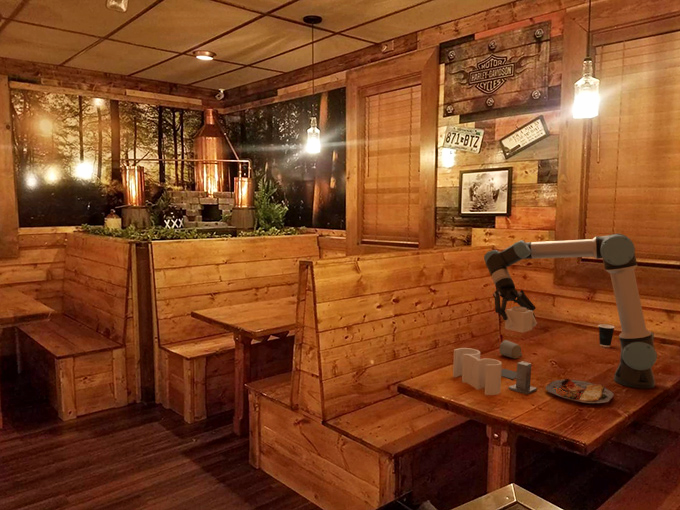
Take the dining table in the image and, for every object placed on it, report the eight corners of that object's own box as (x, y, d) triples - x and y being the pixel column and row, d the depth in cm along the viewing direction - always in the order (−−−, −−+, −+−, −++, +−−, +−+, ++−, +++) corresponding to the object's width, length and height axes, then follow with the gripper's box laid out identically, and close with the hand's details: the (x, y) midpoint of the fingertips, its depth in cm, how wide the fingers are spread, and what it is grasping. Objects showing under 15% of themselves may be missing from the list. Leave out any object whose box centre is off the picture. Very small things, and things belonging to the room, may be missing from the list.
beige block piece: (532, 329, 215) (533, 308, 214) (522, 332, 210) (524, 310, 209) (514, 325, 221) (515, 305, 220) (504, 328, 216) (506, 307, 215)
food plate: (558, 379, 223) (559, 371, 223) (618, 393, 209) (619, 385, 208) (538, 397, 204) (539, 388, 204) (603, 413, 190) (604, 404, 189)
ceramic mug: (512, 360, 251) (513, 344, 250) (498, 355, 258) (499, 340, 257) (526, 357, 257) (527, 342, 256) (512, 353, 263) (513, 338, 263)
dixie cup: (596, 346, 279) (598, 326, 278) (597, 343, 286) (598, 323, 285) (613, 348, 276) (614, 328, 275) (613, 345, 283) (614, 325, 282)
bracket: (506, 393, 206) (508, 363, 205) (485, 396, 202) (487, 366, 201) (470, 373, 229) (471, 347, 228) (450, 375, 226) (452, 348, 225)
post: (537, 390, 210) (538, 363, 209) (527, 394, 205) (528, 367, 204) (518, 385, 216) (520, 359, 215) (508, 389, 211) (510, 362, 209)
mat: (524, 375, 229) (524, 374, 229) (512, 379, 222) (512, 378, 222) (503, 369, 236) (503, 368, 236) (491, 373, 230) (491, 372, 230)
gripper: (522, 286, 232) (542, 329, 219) (476, 287, 225) (494, 331, 212) (530, 276, 226) (551, 319, 213) (483, 277, 220) (502, 322, 206)
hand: (523, 325), depth 213 cm, fingers closed on beige block piece, 11 cm apart
